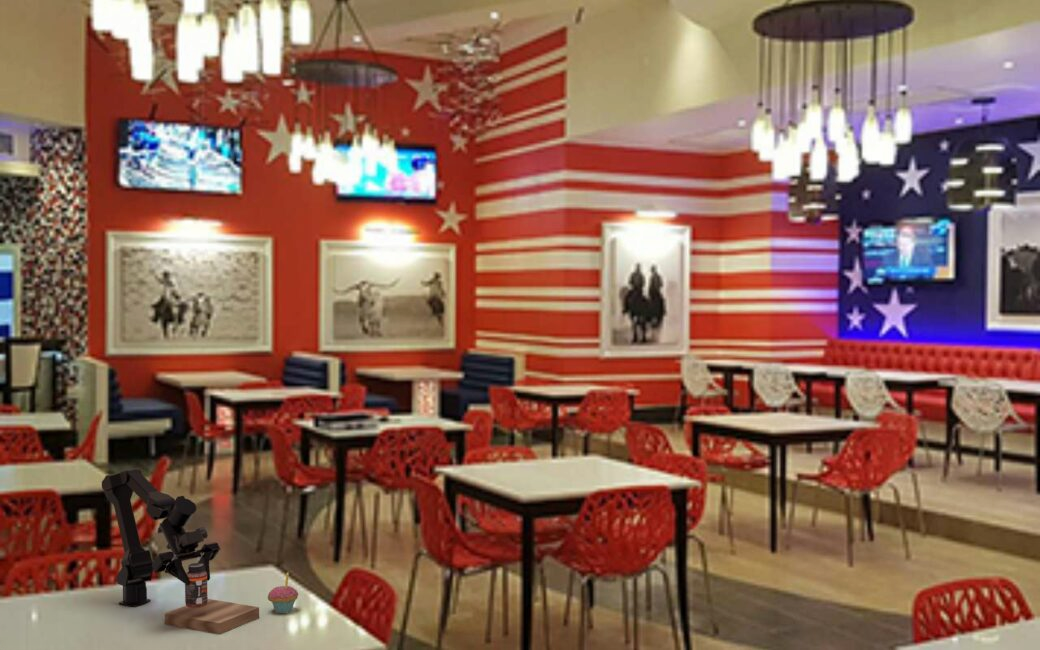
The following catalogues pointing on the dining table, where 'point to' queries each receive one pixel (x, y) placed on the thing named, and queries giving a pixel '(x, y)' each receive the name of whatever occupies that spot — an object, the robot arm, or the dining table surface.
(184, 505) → the robot arm
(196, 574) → the supplement bottle
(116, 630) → the dining table surface
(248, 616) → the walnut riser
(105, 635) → the dining table surface
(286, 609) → the cupcake
